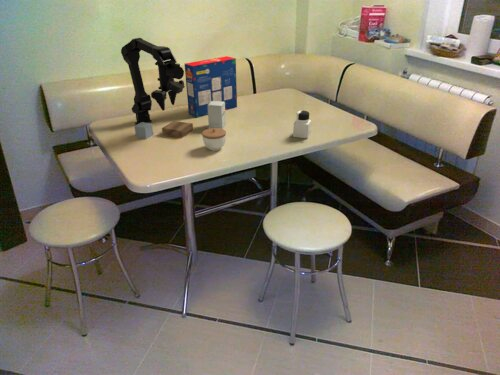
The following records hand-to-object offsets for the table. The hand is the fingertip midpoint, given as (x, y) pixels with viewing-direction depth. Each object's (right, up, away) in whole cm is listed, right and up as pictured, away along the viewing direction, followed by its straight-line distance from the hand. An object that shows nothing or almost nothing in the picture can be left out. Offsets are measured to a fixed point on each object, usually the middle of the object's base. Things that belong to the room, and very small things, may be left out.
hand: (168, 107), depth 201 cm
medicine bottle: (+65, -14, 0) cm, 67 cm away
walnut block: (+4, -12, +6) cm, 14 cm away
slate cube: (-12, -14, +2) cm, 18 cm away
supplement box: (+23, -8, +12) cm, 27 cm away
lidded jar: (+24, -21, -12) cm, 34 cm away
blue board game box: (+19, +5, +35) cm, 40 cm away
